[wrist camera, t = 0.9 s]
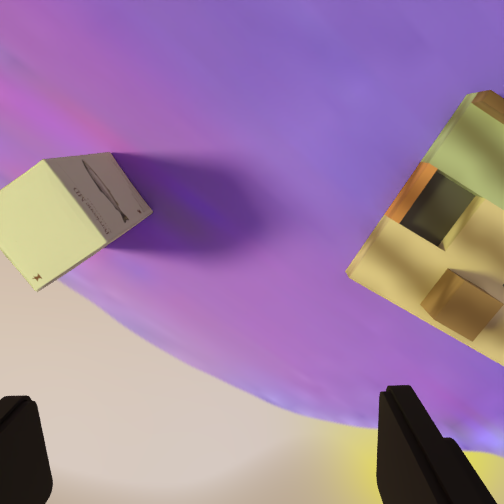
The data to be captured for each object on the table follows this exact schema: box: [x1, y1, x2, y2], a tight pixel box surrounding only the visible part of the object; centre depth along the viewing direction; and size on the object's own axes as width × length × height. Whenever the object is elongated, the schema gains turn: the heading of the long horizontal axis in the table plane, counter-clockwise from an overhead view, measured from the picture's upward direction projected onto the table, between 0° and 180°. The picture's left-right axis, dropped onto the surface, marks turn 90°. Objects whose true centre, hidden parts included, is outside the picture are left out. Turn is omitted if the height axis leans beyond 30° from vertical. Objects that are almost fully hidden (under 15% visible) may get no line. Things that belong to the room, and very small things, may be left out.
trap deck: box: [345, 90, 504, 366], centre depth 39 cm, size 20×20×4 cm
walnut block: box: [420, 268, 504, 342], centre depth 39 cm, size 4×4×4 cm
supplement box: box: [0, 152, 153, 292], centre depth 35 cm, size 7×7×13 cm
